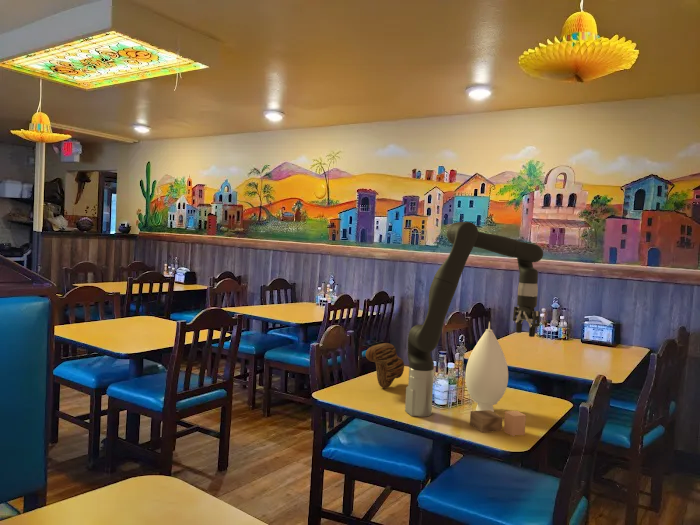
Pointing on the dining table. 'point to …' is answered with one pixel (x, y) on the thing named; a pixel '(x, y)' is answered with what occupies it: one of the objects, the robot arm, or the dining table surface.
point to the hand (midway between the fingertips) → (525, 334)
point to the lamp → (486, 372)
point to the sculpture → (385, 363)
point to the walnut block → (486, 421)
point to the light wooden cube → (514, 423)
